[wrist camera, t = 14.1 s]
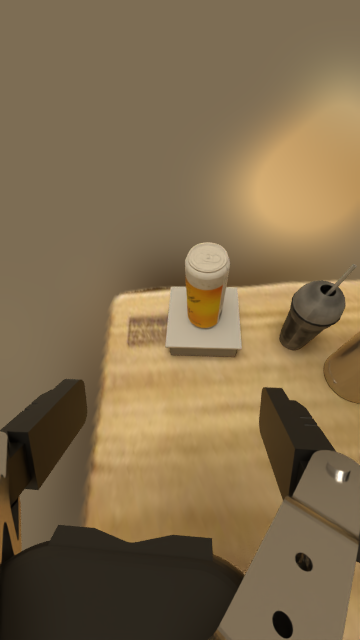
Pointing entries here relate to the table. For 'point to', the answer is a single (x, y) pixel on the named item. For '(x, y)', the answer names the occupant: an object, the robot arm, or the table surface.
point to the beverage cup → (313, 311)
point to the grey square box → (203, 340)
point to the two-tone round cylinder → (206, 283)
